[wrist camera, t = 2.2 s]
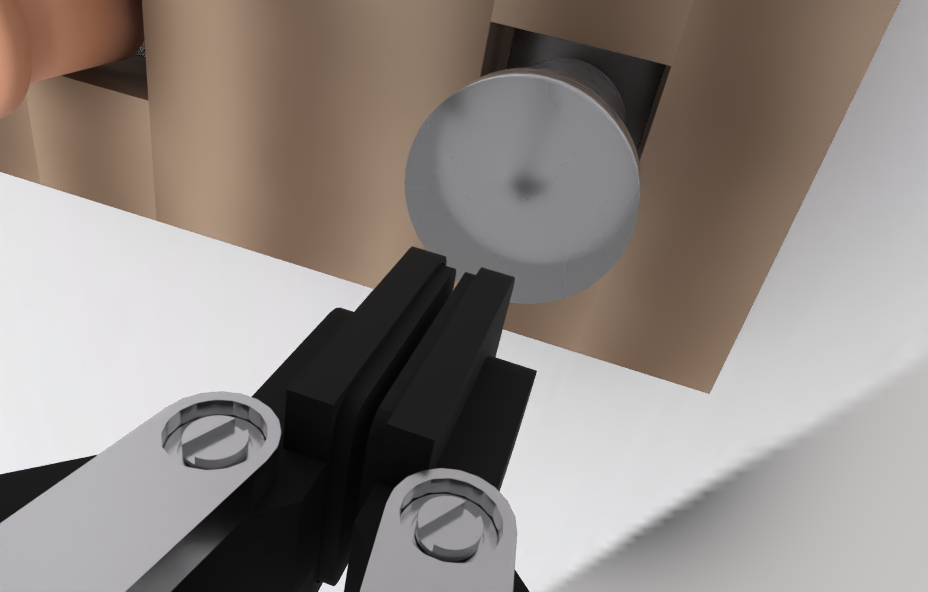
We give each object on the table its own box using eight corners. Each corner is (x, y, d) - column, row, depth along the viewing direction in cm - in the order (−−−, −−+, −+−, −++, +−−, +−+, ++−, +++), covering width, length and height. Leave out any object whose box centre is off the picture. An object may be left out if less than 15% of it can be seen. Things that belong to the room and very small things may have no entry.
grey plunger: (676, 56, 19) (674, 113, 13) (620, 225, 21) (598, 331, 16) (496, 12, 19) (422, 49, 14) (463, 180, 22) (391, 267, 17)
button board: (896, -90, 18) (944, -93, 15) (705, 331, 25) (709, 393, 22) (-42, -281, 22) (-170, -316, 19) (25, 126, 30) (-59, 153, 26)
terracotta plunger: (162, -69, 21) (-23, -65, 15) (170, 98, 24) (15, 151, 18) (18, -104, 22) (-207, -112, 16) (42, 61, 24) (-144, 103, 19)
